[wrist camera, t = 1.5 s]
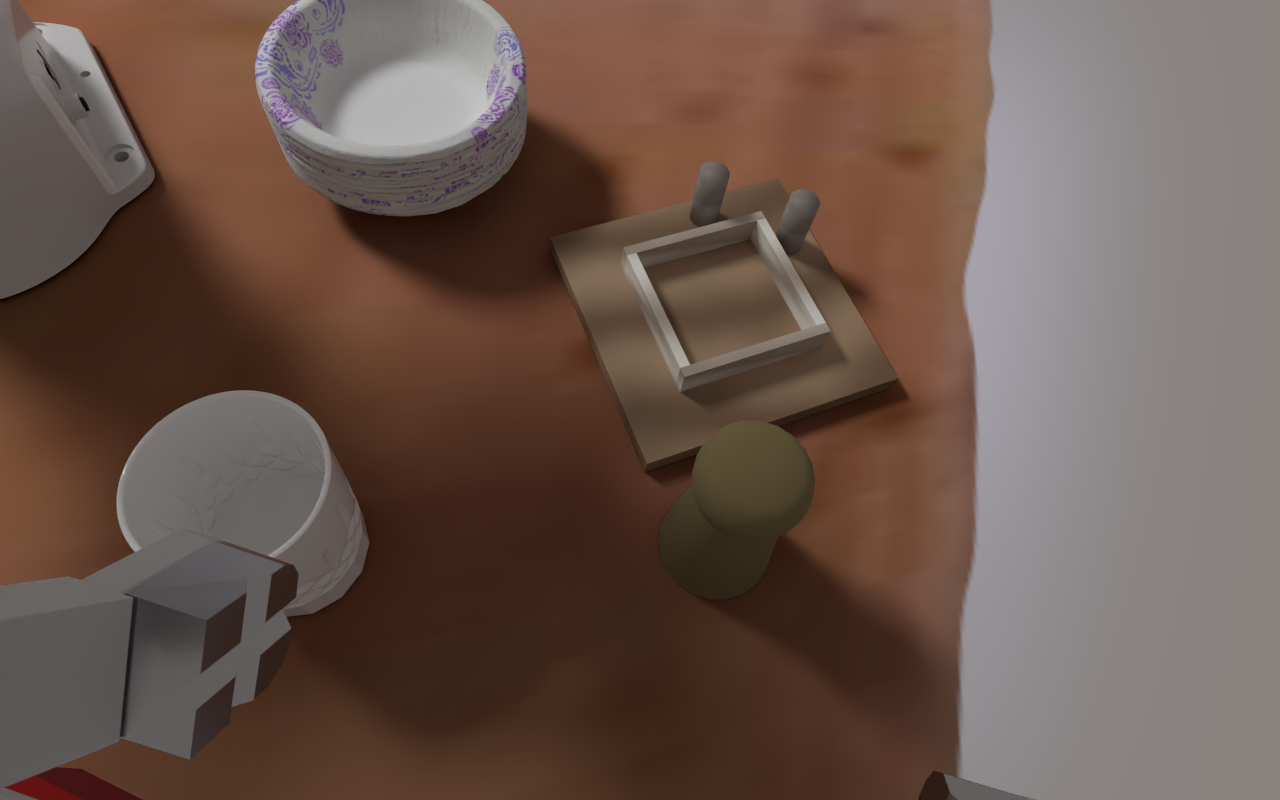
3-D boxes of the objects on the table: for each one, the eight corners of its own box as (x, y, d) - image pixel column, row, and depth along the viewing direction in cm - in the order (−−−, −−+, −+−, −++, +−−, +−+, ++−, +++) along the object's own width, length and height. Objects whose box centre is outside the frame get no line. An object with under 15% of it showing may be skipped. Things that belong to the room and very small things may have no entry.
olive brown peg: (652, 591, 40) (681, 525, 30) (664, 482, 43) (694, 389, 33) (768, 607, 40) (835, 546, 30) (772, 497, 43) (834, 409, 33)
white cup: (294, 451, 42) (222, 357, 33) (413, 527, 40) (372, 450, 32) (182, 575, 38) (68, 508, 29) (308, 662, 37) (229, 620, 28)
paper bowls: (553, 227, 50) (551, 133, 43) (305, 267, 47) (261, 174, 40) (505, 63, 56) (497, -42, 49) (284, 90, 53) (242, -18, 46)
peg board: (550, 249, 49) (549, 192, 45) (773, 191, 53) (794, 133, 49) (644, 472, 43) (655, 432, 38) (890, 387, 47) (926, 343, 42)
